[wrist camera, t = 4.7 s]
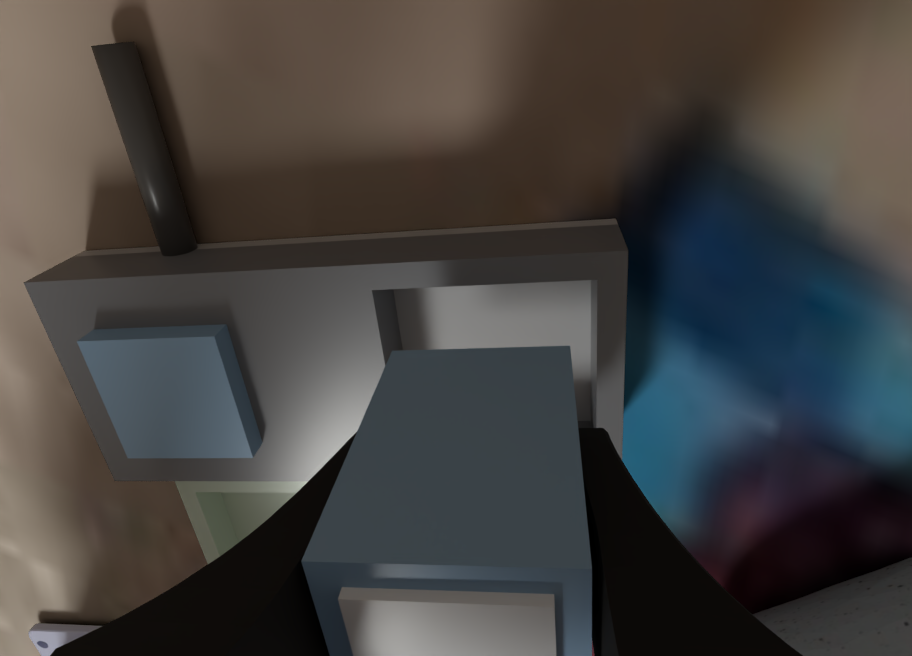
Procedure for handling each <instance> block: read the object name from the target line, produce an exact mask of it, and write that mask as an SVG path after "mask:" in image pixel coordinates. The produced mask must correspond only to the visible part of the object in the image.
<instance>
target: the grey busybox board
mask: <svg viewBox="0 0 912 656" xmlns="http://www.w3.org/2000/svg"><path fill="white" fill-rule="evenodd" d="M91 47H92V50H93V53H94V56H95V59H96V62H97V65H98V68H99V71H100V74H101V77H102V80H103V83H104V86H105V89H106V92H107V95H108V98H109V100H110V103H111V106H112V109H113V112H114V115H115V118H116V121H117V124H118V127H119V130H120V133H121V136H122V139H123V142H124V145H125V148H126V151H127V153H128V156H129V159H130V162H131V165H132V168H133V171H134V174H135V177H136V180H137V183H138V186H139V189H140V192H141V195H142V198H143V201H144V204H145V207H146V209H147V212H148V215H149V218H150V221H151V224H152V227H153V230H154V233H155V236H156V239H157V242H158V245H159V246H156V247H140V248H123V249H107V250H91V251H83V252H81V253H79V254H77V255H75V256H74V257H72V258H70V259H68V260H66V261H64V262H62V263H60V264H58V265H56V266H54V267H53V268H51V269H49V270H47V271H45V272H43V273H41V274H39V275H37V276H35V277H34V278H32V279H30V280H28V281H26V282H24V284H25V287H26V289H27V291H28V293H29V295H30V297H31V300H32V302H33V304H34V306H35V308H36V311H37V313H38V315H39V317H40V319H41V321H42V324H43V326H44V328H45V330H46V332H47V334H48V337H49V339H50V341H51V343H52V345H53V348H54V350H55V352H56V354H57V356H58V358H59V361H60V363H61V365H62V367H63V369H64V371H65V374H66V376H67V378H68V380H69V382H70V385H71V387H72V389H73V391H74V393H75V395H76V398H77V400H78V402H79V404H80V406H81V409H82V411H83V413H84V415H85V417H86V419H87V422H88V424H89V426H90V428H91V430H92V432H93V435H94V437H95V439H96V441H97V443H98V446H99V448H100V450H101V452H102V454H103V456H104V459H105V461H106V463H107V465H108V467H109V469H110V472H111V474H112V476H113V478H114V480H115V481H307V482H308V481H309V480H310V479H311V478H312V477H313V476H314V475H315V474H316V473H317V472H318V471H319V470H320V469H321V468H322V467H323V466H324V465H325V464H326V463H327V462H328V461H329V460H330V459H331V458H332V457H333V456H334V455H335V454H336V453H337V452H338V450H339V449H340V448H341V447H342V446H343V445H344V444H345V443H346V442H347V441H348V440H349V439H350V438H351V437H352V436H353V435H354V434H355V433H356V432H357V431H358V429H359V426H360V424H361V422H362V419H363V417H364V415H365V412H366V410H367V408H368V405H369V403H370V401H371V398H372V396H373V394H374V391H375V389H376V387H377V384H378V382H379V380H380V378H381V375H382V373H383V371H384V368H385V366H386V364H387V361H388V359H389V357H390V354H391V352H392V351H399V350H434V349H469V348H504V347H539V346H570V349H571V359H572V370H573V380H574V390H575V400H576V410H577V421H578V428H604V429H605V430H606V431H607V432H608V434H609V436H610V438H611V441H612V443H613V445H614V447H615V449H616V451H617V453H618V454H619V456H620V458H621V460H622V438H623V406H624V374H625V341H626V309H627V277H628V249H627V246H626V243H625V241H624V238H623V236H622V233H621V231H620V228H619V226H618V223H617V221H616V219H600V220H583V221H567V222H551V223H534V224H518V225H501V226H485V227H468V228H452V229H436V230H419V231H403V232H386V233H370V234H353V235H337V236H321V237H304V238H288V239H271V240H255V241H238V242H222V243H206V244H197V243H196V239H195V236H194V233H193V230H192V226H191V223H190V220H189V217H188V213H187V210H186V207H185V204H184V200H183V197H182V194H181V191H180V188H179V184H178V181H177V178H176V175H175V171H174V168H173V165H172V162H171V158H170V155H169V152H168V149H167V145H166V142H165V139H164V136H163V133H162V129H161V126H160V123H159V120H158V116H157V113H156V110H155V107H154V103H153V100H152V97H151V94H150V90H149V87H148V84H147V81H146V77H145V74H144V71H143V68H142V65H141V61H140V58H139V55H138V52H137V48H136V45H135V42H125V43H115V44H105V45H97V46H91Z"/></svg>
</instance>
